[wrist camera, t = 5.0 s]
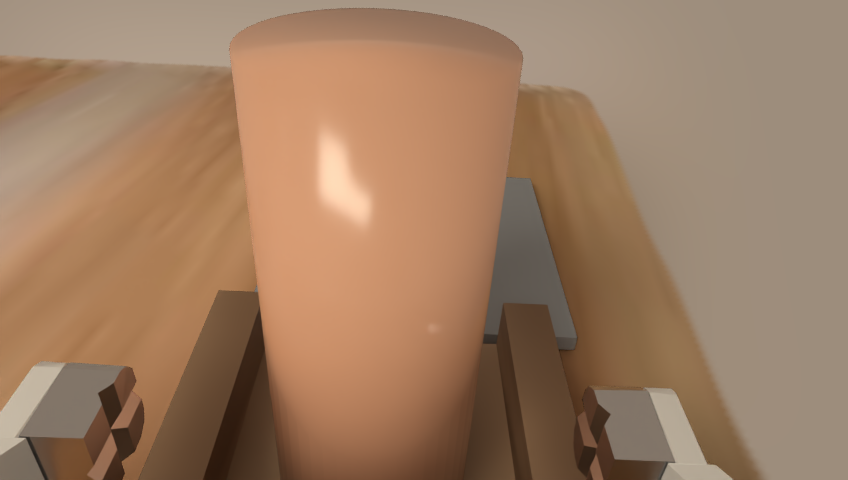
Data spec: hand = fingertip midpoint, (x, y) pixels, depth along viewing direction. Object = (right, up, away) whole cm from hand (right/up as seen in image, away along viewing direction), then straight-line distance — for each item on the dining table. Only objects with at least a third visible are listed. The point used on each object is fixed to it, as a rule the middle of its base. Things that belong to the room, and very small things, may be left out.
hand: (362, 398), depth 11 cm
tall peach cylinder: (0, -3, +7) cm, 8 cm away
